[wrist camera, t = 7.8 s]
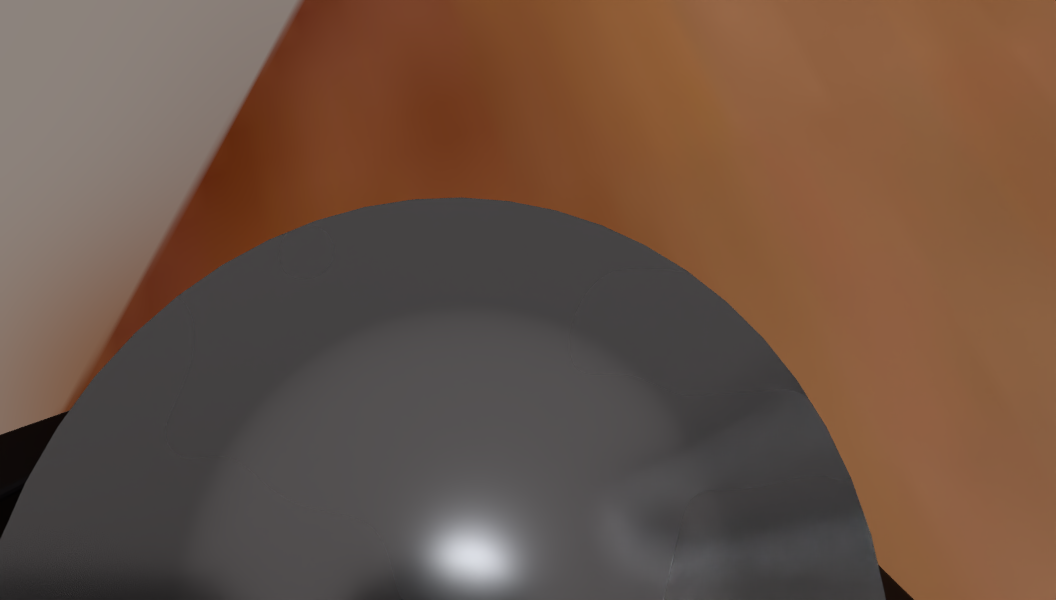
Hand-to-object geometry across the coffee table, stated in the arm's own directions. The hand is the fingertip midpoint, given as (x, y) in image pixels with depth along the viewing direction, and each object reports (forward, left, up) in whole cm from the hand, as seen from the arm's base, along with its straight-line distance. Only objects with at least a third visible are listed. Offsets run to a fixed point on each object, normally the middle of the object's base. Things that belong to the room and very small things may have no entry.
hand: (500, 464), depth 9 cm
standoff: (-1, -1, -8) cm, 8 cm away
